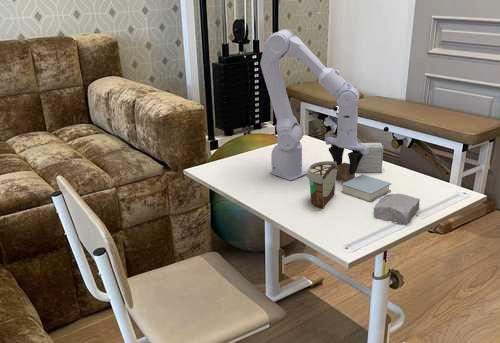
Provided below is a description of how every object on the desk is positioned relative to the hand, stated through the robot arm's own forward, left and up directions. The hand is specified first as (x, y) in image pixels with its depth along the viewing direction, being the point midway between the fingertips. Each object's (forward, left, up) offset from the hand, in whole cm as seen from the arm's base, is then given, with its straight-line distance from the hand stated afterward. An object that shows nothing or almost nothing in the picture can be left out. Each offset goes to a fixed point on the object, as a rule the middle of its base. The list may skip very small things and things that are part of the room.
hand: (345, 171), depth 151 cm
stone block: (+23, -9, -3) cm, 25 cm away
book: (+10, -4, -3) cm, 11 cm away
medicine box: (+1, +10, -3) cm, 11 cm away
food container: (+4, -17, -3) cm, 18 cm away
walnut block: (0, 0, -3) cm, 3 cm away
